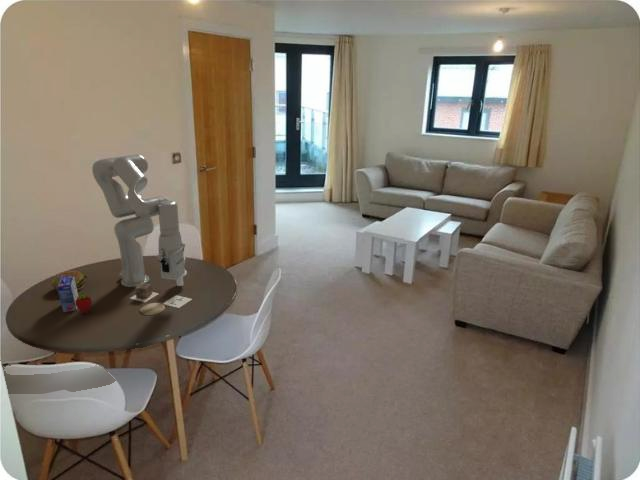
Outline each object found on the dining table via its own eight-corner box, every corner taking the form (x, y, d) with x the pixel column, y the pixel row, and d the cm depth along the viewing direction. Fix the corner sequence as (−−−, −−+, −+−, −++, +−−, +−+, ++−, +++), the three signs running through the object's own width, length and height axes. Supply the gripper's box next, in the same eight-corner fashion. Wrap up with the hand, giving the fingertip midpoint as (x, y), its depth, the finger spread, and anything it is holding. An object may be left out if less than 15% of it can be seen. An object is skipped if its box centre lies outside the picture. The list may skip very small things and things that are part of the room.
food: (46, 294, 198) (43, 279, 195) (65, 281, 211) (62, 266, 208) (75, 296, 197) (72, 280, 194) (93, 282, 210) (90, 267, 207)
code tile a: (162, 304, 191) (162, 303, 191) (176, 295, 199) (176, 295, 199) (179, 308, 188) (179, 307, 188) (192, 299, 196) (192, 298, 196)
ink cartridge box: (65, 302, 192) (59, 272, 187) (79, 300, 193) (73, 270, 188) (62, 312, 183) (55, 281, 178) (76, 310, 185) (70, 279, 180)
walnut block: (136, 298, 196) (135, 288, 194) (142, 293, 200) (140, 283, 199) (146, 298, 195) (145, 288, 193) (152, 293, 200) (151, 284, 198)
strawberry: (77, 319, 178) (73, 297, 175) (77, 311, 184) (73, 290, 181) (94, 316, 181) (90, 294, 177) (93, 308, 187) (89, 287, 184)
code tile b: (129, 298, 196) (129, 298, 195) (144, 290, 203) (144, 289, 203) (145, 302, 192) (145, 302, 192) (159, 294, 200) (159, 293, 200)
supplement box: (176, 280, 186) (174, 253, 181) (161, 278, 187) (158, 251, 183) (185, 273, 193) (183, 247, 188) (169, 271, 194) (167, 244, 189)
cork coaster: (135, 312, 184) (134, 311, 184) (151, 302, 193) (151, 301, 193) (153, 317, 181) (153, 316, 180) (170, 306, 189) (169, 305, 189)
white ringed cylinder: (182, 289, 205) (179, 260, 200) (169, 286, 207) (166, 257, 202) (190, 283, 211) (188, 254, 206) (178, 280, 213) (175, 252, 208)
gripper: (176, 222, 191) (179, 259, 197) (147, 235, 176) (151, 273, 182) (190, 225, 188) (192, 262, 195) (162, 238, 173) (165, 277, 180)
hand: (172, 267), depth 188 cm, fingers closed on supplement box, 8 cm apart
